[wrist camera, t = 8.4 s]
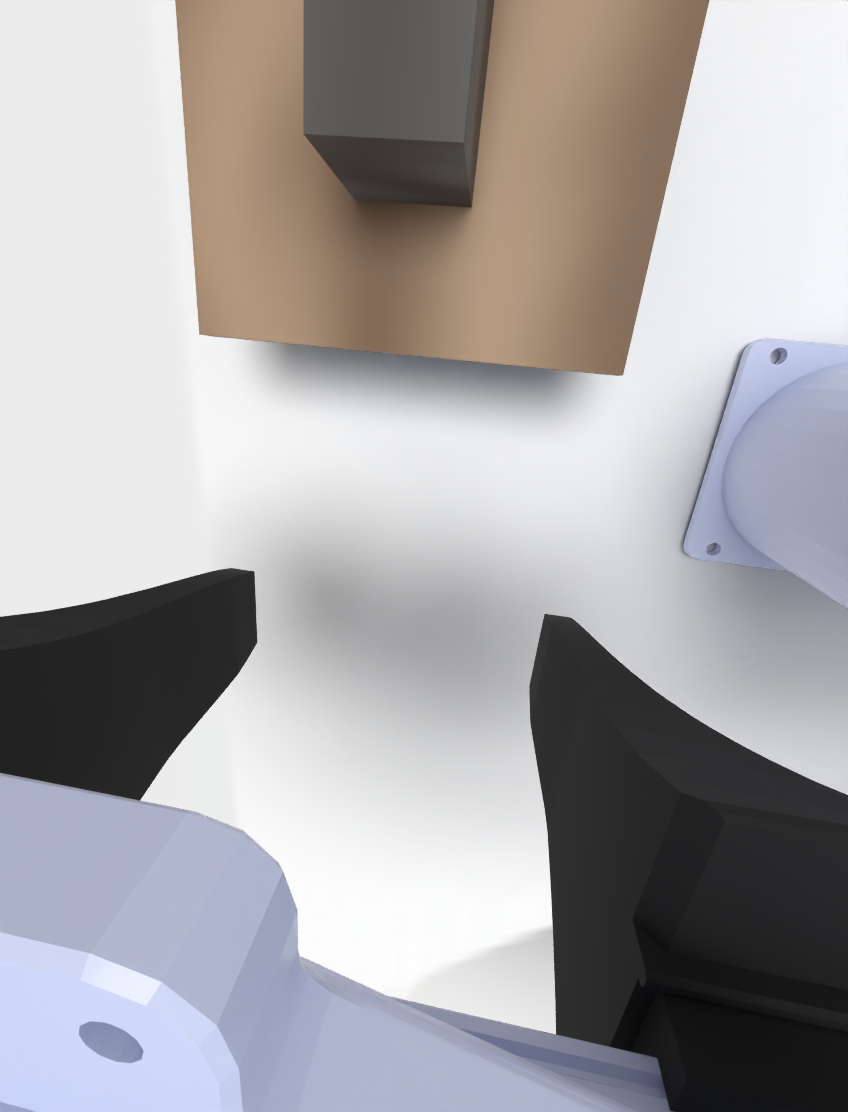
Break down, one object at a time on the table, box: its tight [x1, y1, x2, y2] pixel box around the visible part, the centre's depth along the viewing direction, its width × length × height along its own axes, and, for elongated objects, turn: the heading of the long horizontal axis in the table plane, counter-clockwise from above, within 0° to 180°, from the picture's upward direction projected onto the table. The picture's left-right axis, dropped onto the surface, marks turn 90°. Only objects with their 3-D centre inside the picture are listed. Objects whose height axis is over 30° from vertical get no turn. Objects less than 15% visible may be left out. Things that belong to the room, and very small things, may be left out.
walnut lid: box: [175, 0, 709, 376], centre depth 10 cm, size 12×12×4 cm
